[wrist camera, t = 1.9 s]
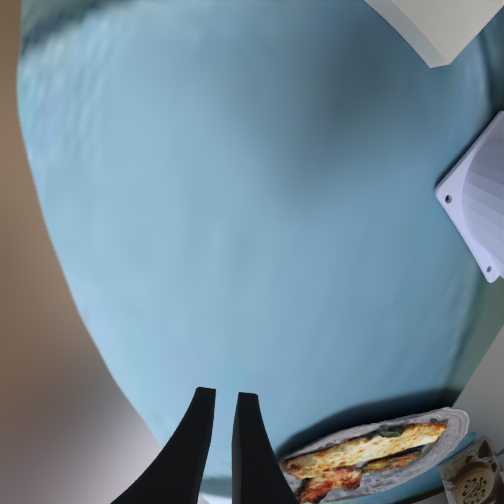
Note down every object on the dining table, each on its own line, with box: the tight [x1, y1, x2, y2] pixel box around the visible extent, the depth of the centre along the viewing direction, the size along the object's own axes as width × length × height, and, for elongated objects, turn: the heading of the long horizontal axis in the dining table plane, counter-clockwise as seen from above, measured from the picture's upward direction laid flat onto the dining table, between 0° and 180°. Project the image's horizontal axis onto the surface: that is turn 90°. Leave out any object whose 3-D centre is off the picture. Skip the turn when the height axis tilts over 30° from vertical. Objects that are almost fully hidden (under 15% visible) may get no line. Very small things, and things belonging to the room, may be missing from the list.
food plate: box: [277, 407, 470, 504], centre depth 27 cm, size 25×23×4 cm
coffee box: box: [438, 436, 504, 504], centre depth 24 cm, size 9×6×16 cm
